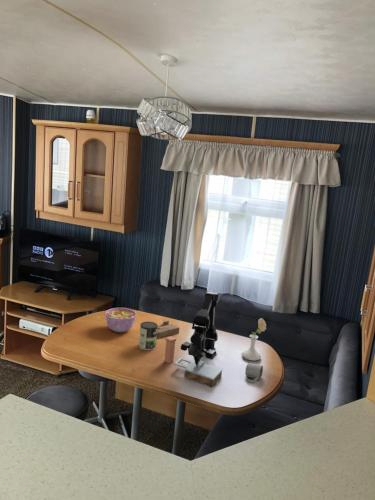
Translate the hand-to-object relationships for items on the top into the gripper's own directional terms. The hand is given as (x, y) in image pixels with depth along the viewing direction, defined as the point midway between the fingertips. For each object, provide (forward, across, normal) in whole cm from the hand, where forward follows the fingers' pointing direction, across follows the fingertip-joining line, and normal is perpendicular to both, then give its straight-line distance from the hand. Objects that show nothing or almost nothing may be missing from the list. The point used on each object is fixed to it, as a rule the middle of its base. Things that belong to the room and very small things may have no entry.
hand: (196, 365), depth 211 cm
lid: (+2, 0, 0) cm, 2 cm away
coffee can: (+6, -39, +12) cm, 41 cm away
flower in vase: (+6, +18, +39) cm, 43 cm away
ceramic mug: (+6, +27, +16) cm, 32 cm away
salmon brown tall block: (+6, -19, +4) cm, 20 cm away
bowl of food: (+6, -66, +20) cm, 69 cm away
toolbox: (+6, +4, 0) cm, 7 cm away
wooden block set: (+6, -44, +37) cm, 58 cm away
